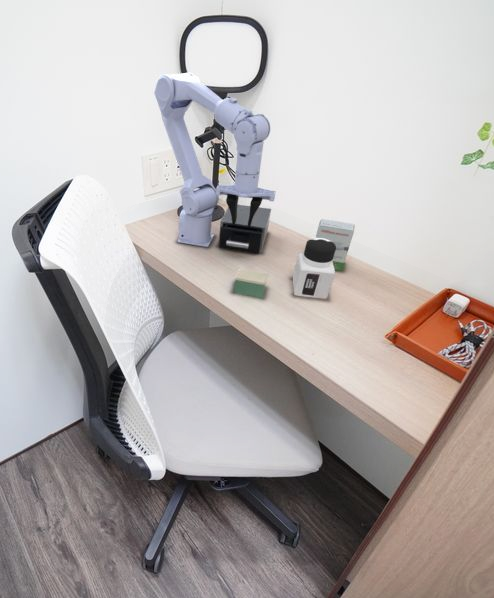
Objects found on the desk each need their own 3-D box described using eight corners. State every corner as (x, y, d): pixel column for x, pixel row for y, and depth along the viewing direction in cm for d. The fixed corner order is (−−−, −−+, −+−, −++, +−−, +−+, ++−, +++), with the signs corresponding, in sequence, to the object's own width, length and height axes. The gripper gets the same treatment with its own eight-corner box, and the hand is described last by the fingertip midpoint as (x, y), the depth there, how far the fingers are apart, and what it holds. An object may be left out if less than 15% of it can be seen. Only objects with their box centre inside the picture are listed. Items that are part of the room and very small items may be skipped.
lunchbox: (233, 292, 88) (235, 277, 85) (236, 282, 91) (238, 267, 89) (262, 298, 86) (265, 282, 84) (264, 288, 90) (267, 272, 87)
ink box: (343, 263, 99) (356, 223, 92) (341, 271, 96) (355, 231, 89) (310, 256, 102) (320, 217, 95) (308, 264, 99) (318, 224, 92)
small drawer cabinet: (261, 253, 103) (265, 227, 98) (218, 246, 106) (220, 221, 102) (267, 233, 114) (271, 208, 109) (227, 227, 117) (230, 203, 112)
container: (327, 299, 86) (342, 252, 78) (293, 295, 87) (305, 248, 79) (323, 282, 92) (337, 236, 84) (292, 278, 93) (303, 232, 85)
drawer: (256, 261, 98) (259, 241, 94) (215, 254, 101) (217, 234, 97) (264, 234, 111) (267, 215, 107) (227, 229, 114) (229, 210, 110)
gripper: (214, 173, 86) (211, 226, 94) (276, 179, 82) (267, 233, 90) (221, 165, 91) (217, 215, 99) (279, 170, 87) (271, 222, 96)
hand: (241, 223), depth 95 cm, fingers open, 3 cm apart
